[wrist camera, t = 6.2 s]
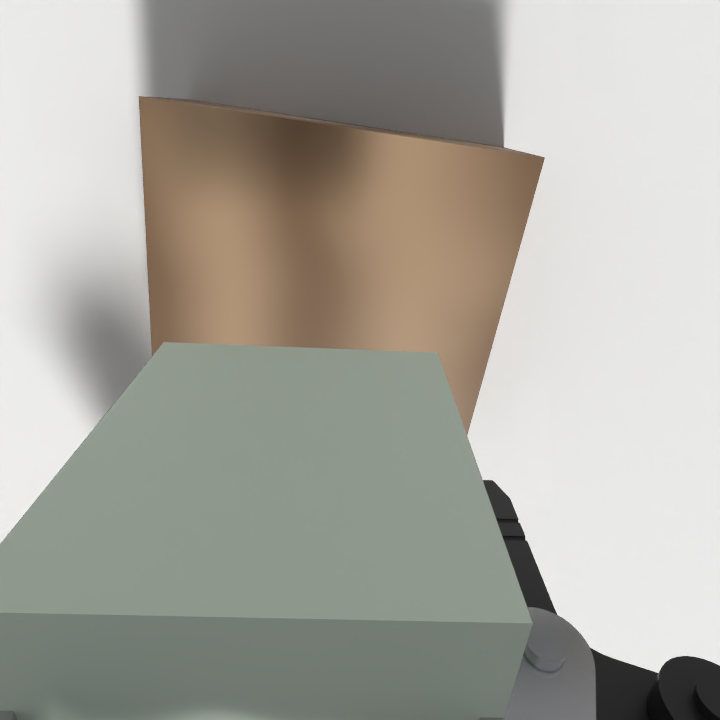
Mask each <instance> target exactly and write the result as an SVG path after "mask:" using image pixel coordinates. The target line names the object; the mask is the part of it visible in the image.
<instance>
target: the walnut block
mask: <svg viewBox="0 0 720 720" xmlns="http://www.w3.org/2000/svg"><path fill="white" fill-rule="evenodd" d="M139 109H140V129H141V148H142V168H143V187H144V206H145V226H146V245H147V265H148V284H149V303H150V323H151V342H152V356H153V355H154V354H155V352H156V351H157V350H158V349H159V347H160V346H161V345H162V344H163V342H175V343H201V344H227V345H252V346H278V347H304V348H330V349H356V350H382V351H407V352H433V353H438V355H439V357H440V360H441V363H442V366H443V369H444V372H445V375H446V377H447V380H448V383H449V386H450V389H451V392H452V394H453V397H454V400H455V403H456V406H457V409H458V412H459V414H460V417H461V420H462V423H463V426H464V429H465V432H466V434H468V430H469V427H470V423H471V419H472V416H473V412H474V409H475V405H476V401H477V398H478V394H479V391H480V387H481V384H482V380H483V376H484V373H485V369H486V366H487V362H488V359H489V355H490V351H491V348H492V344H493V341H494V337H495V334H496V330H497V326H498V323H499V319H500V316H501V312H502V309H503V305H504V301H505V298H506V294H507V291H508V287H509V283H510V280H511V276H512V273H513V269H514V266H515V262H516V258H517V255H518V251H519V248H520V244H521V241H522V237H523V233H524V230H525V226H526V223H527V219H528V216H529V212H530V208H531V205H532V201H533V198H534V194H535V191H536V187H537V183H538V180H539V176H540V173H541V169H542V165H543V162H544V157H540V156H536V155H532V154H528V153H524V152H520V151H516V150H512V149H508V148H504V147H497V146H491V145H484V144H478V143H471V142H464V141H458V140H451V139H445V138H438V137H431V136H425V135H418V134H412V133H405V132H398V131H392V130H385V129H379V128H372V127H365V126H359V125H352V124H346V123H339V122H332V121H326V120H319V119H312V118H306V117H299V116H293V115H286V114H279V113H273V112H266V111H260V110H253V109H246V108H240V107H233V106H227V105H220V104H213V103H207V102H200V101H194V100H186V99H171V98H156V97H141V96H139Z"/></svg>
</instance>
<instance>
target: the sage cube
mask: <svg viewBox="0 0 720 720" xmlns="http://www.w3.org/2000/svg"><path fill="white" fill-rule="evenodd" d="M532 625H533V622H532V620H531V617H530V614H529V611H528V608H527V605H526V602H525V600H524V597H523V594H522V591H521V588H520V585H519V582H518V580H517V577H516V574H515V571H514V568H513V565H512V563H511V560H510V557H509V554H508V551H507V548H506V545H505V543H504V540H503V537H502V534H501V531H500V528H499V526H498V523H497V520H496V517H495V514H494V511H493V508H492V506H491V503H490V500H489V497H488V494H487V491H486V488H485V486H484V483H483V480H482V477H481V474H480V471H479V469H478V466H477V463H476V460H475V457H474V454H473V451H472V449H471V446H470V443H469V440H468V437H467V434H466V432H465V429H464V426H463V423H462V420H461V417H460V414H459V412H458V409H457V406H456V403H455V400H454V397H453V394H452V392H451V389H450V386H449V383H448V380H447V377H446V375H445V372H444V369H443V366H442V363H441V360H440V357H439V355H438V353H433V352H407V351H382V350H356V349H330V348H304V347H278V346H252V345H227V344H201V343H175V342H163V344H162V345H161V346H160V347H159V349H158V350H157V351H156V352H155V354H154V355H153V356H152V357H151V359H150V360H149V361H148V362H147V363H146V365H145V366H144V367H143V368H142V370H141V371H140V372H139V373H138V375H137V376H136V377H135V378H134V380H133V381H132V382H131V383H130V384H129V386H128V387H127V388H126V389H125V391H124V392H123V393H122V394H121V396H120V397H119V398H118V399H117V401H116V402H115V403H114V404H113V405H112V407H111V408H110V409H109V410H108V412H107V413H106V414H105V415H104V417H103V418H102V419H101V420H100V422H99V423H98V424H97V425H96V426H95V428H94V429H93V430H92V431H91V433H90V434H89V435H88V436H87V438H86V439H85V440H84V441H83V443H82V444H81V445H80V446H79V447H78V449H77V450H76V451H75V452H74V454H73V455H72V456H71V457H70V459H69V460H68V461H67V462H66V464H65V465H64V466H63V467H62V468H61V470H60V471H59V472H58V473H57V475H56V476H55V477H54V478H53V480H52V481H51V482H50V483H49V485H48V486H47V487H46V488H45V489H44V491H43V492H42V493H41V494H40V496H39V497H38V498H37V499H36V501H35V502H34V503H33V504H32V506H31V507H30V508H29V509H28V510H27V512H26V513H25V514H24V515H23V517H22V518H21V519H20V520H19V522H18V523H17V524H16V525H15V527H14V528H13V529H12V530H11V531H10V533H9V534H8V535H7V536H6V538H5V539H4V540H3V541H2V543H1V544H0V711H14V713H15V716H16V718H17V720H479V719H480V717H491V718H504V716H505V712H506V709H507V706H508V703H509V699H510V696H511V693H512V690H513V686H514V683H515V680H516V677H517V673H518V670H519V667H520V664H521V660H522V657H523V654H524V651H525V647H526V644H527V641H528V638H529V634H530V631H531V628H532Z"/></svg>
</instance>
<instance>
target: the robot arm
mask: <svg viewBox="0 0 720 720" xmlns="http://www.w3.org/2000/svg"><path fill="white" fill-rule="evenodd" d="M483 483H484V486H485V488H486V491H487V494H488V497H489V500H490V503H491V506H492V508H493V511H494V514H495V517H496V520H497V523H498V526H499V528H500V531H501V534H502V537H503V540H504V543H505V545H506V548H507V551H508V554H509V557H510V560H511V563H512V565H513V568H514V571H515V574H516V577H517V580H518V582H519V585H520V588H521V591H522V594H523V597H524V600H525V602H526V605H527V608H528V611H529V614H530V617H531V620H532V622H533V625H532V628H531V631H530V634H529V638H528V641H527V644H526V647H525V651H524V654H523V657H522V660H521V664H520V667H519V670H518V673H517V677H516V680H515V683H514V686H513V690H512V693H511V696H510V699H509V703H508V706H507V709H506V712H505V716H504V718H491V717H480V719H479V720H720V666H719V665H717V664H715V663H712V662H710V661H707V660H704V659H701V658H696V657H689V656H682V657H676V658H672V659H670V660H669V661H667V662H666V663H665V664H664V665H663V666H662V668H661V670H660V672H659V673H656V672H653V671H650V670H647V669H644V668H640V667H637V666H634V665H631V664H628V663H625V662H622V661H619V660H616V659H613V658H610V657H608V656H605V655H603V654H601V653H599V652H597V651H595V650H593V649H591V648H590V647H589V645H588V644H587V642H586V641H585V639H584V638H583V636H582V635H581V634H580V633H579V632H578V631H577V630H576V629H575V628H574V627H573V626H572V625H571V624H570V623H569V622H567V621H566V620H564V619H563V618H561V617H560V616H558V615H557V613H556V611H555V609H554V606H553V604H552V601H551V599H550V597H549V594H548V592H547V589H546V587H545V584H544V582H543V579H542V577H541V574H540V572H539V569H538V567H537V564H536V562H535V559H534V557H533V554H532V552H531V549H530V547H529V545H528V542H527V541H525V535H524V532H523V530H522V527H521V525H520V523H518V517H517V515H516V512H515V510H514V507H513V505H512V502H511V500H510V498H509V497H508V496H507V495H506V494H505V493H504V492H503V491H502V490H501V489H500V488H499V487H498V485H497V484H496V483H495V482H494V481H492V480H483ZM0 720H17V718H16V716H15V713H14V711H0Z"/></svg>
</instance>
